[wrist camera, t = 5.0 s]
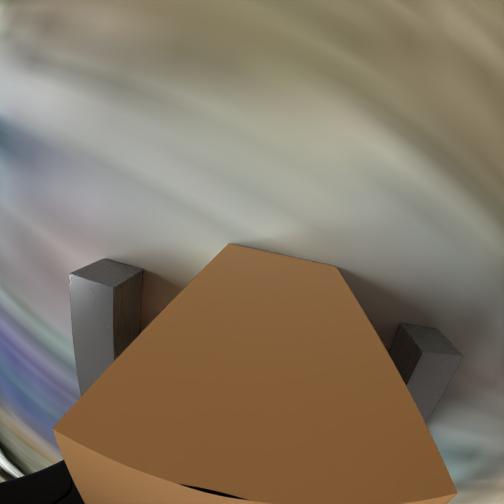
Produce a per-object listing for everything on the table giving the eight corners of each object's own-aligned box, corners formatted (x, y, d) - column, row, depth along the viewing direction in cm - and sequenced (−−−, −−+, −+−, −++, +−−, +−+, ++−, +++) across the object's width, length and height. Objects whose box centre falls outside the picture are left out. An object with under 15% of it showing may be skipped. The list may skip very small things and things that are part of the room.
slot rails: (437, 329, 8) (462, 355, 6) (304, 532, 11) (304, 554, 10) (103, 258, 9) (69, 273, 7) (126, 494, 12) (115, 514, 10)
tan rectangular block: (384, 277, 8) (545, 461, 1) (301, 470, 10) (297, 612, 3) (177, 232, 8) (-52, 346, 2) (160, 440, 10) (96, 570, 3)
